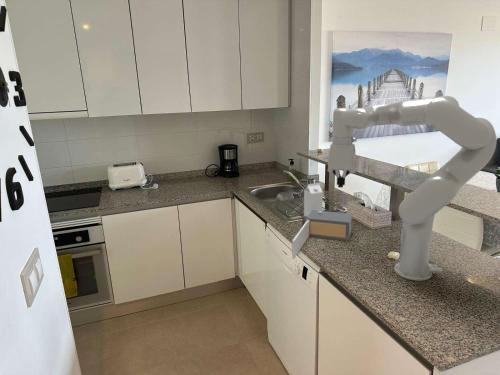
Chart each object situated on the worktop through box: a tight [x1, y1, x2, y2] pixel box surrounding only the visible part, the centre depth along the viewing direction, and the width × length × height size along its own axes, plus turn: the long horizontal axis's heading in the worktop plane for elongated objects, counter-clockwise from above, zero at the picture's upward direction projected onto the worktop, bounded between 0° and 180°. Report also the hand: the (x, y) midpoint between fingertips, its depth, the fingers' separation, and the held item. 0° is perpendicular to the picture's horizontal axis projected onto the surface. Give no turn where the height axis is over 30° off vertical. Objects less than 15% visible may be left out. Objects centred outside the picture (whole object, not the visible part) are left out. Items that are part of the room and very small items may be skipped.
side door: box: [291, 219, 310, 260], centre depth 150 cm, size 25×2×8 cm, turn 156°
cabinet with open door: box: [301, 210, 353, 242], centre depth 163 cm, size 22×12×10 cm, turn 69°
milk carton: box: [303, 182, 324, 217], centre depth 182 cm, size 7×7×19 cm
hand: (340, 186), depth 137 cm, fingers closed
